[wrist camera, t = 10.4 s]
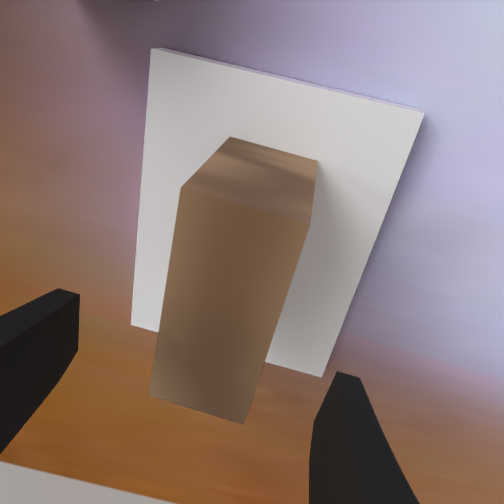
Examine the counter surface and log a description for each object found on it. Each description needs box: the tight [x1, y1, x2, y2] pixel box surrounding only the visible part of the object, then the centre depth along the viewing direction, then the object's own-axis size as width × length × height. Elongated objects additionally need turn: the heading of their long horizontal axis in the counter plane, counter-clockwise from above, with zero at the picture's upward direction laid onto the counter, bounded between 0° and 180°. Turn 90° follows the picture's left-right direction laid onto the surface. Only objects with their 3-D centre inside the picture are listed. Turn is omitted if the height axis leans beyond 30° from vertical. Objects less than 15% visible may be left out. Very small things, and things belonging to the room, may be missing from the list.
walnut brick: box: [149, 137, 318, 425], centre depth 16 cm, size 4×8×6 cm, turn 167°
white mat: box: [131, 47, 425, 377], centre depth 19 cm, size 10×13×1 cm
